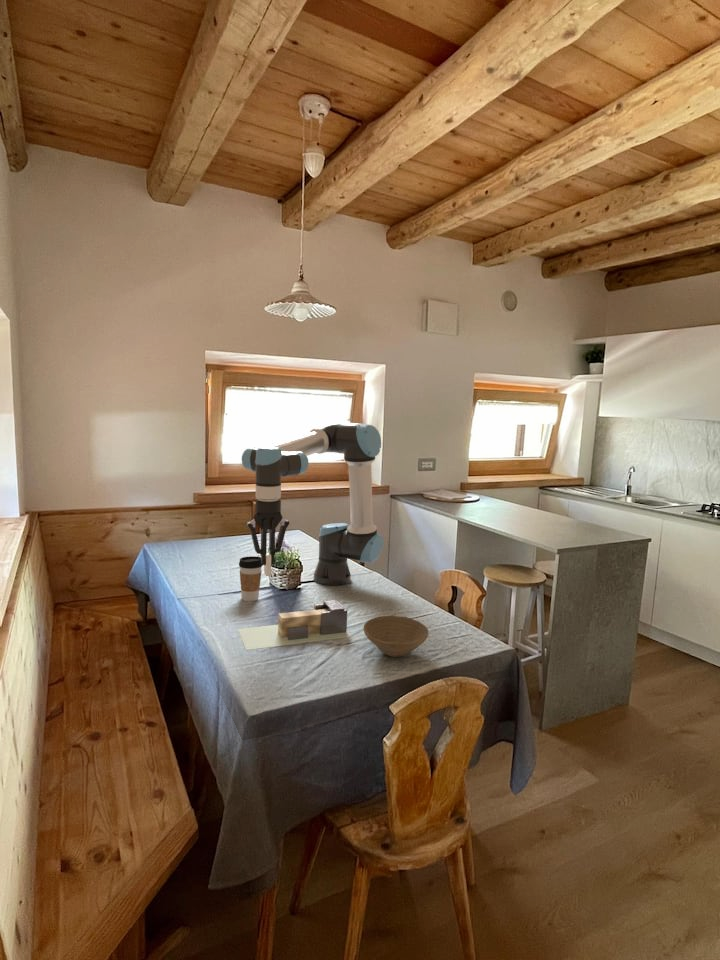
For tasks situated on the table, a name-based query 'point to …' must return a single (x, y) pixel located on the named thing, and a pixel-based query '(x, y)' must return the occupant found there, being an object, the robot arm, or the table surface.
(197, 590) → the table surface
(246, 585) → the coffee cup
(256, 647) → the sage board
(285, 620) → the pine slat
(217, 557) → the table surface
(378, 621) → the bowl
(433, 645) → the table surface
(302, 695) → the table surface
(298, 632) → the open saddle
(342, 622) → the end cap
